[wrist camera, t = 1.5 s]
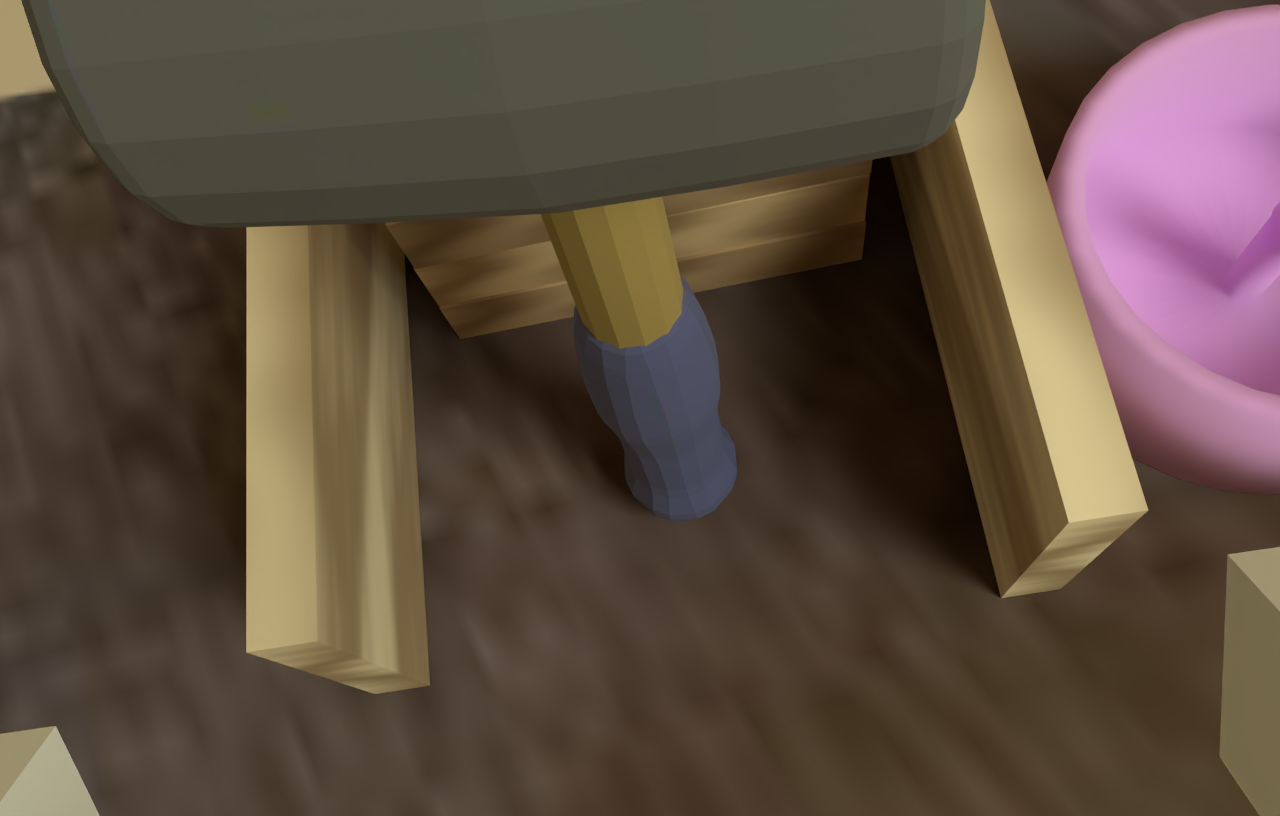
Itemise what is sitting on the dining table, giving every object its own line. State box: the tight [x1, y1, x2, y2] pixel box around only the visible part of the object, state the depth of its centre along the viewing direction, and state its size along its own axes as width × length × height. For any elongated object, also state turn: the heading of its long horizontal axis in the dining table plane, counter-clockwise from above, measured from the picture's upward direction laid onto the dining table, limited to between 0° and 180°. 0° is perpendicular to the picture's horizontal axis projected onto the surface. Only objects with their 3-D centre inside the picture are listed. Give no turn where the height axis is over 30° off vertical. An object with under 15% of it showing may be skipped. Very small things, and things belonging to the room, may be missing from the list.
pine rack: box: [246, 0, 1148, 694], centre depth 38 cm, size 24×22×10 cm
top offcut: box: [386, 160, 872, 269], centre depth 38 cm, size 16×5×3 cm, turn 100°
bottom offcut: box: [440, 221, 866, 339], centre depth 43 cm, size 16×5×3 cm, turn 99°
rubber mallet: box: [22, 0, 986, 521], centre depth 27 cm, size 12×8×30 cm, turn 93°
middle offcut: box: [414, 173, 870, 306], centre depth 40 cm, size 16×5×3 cm, turn 99°
